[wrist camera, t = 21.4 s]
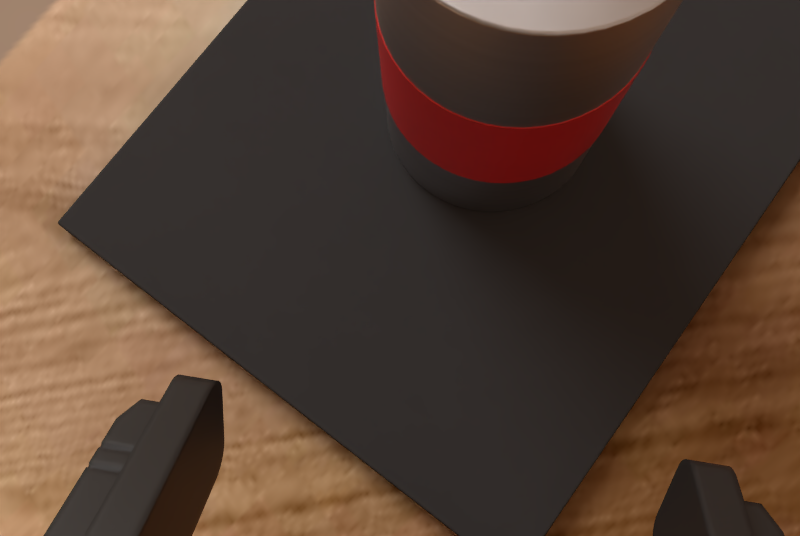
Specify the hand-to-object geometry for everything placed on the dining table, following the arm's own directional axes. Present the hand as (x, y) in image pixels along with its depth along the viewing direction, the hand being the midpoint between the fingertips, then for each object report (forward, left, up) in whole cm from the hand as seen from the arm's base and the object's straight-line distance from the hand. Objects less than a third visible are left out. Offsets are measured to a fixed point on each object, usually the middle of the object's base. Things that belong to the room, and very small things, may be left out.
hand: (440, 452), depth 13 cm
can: (+6, +7, -7) cm, 12 cm away
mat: (+6, +7, -8) cm, 12 cm away
